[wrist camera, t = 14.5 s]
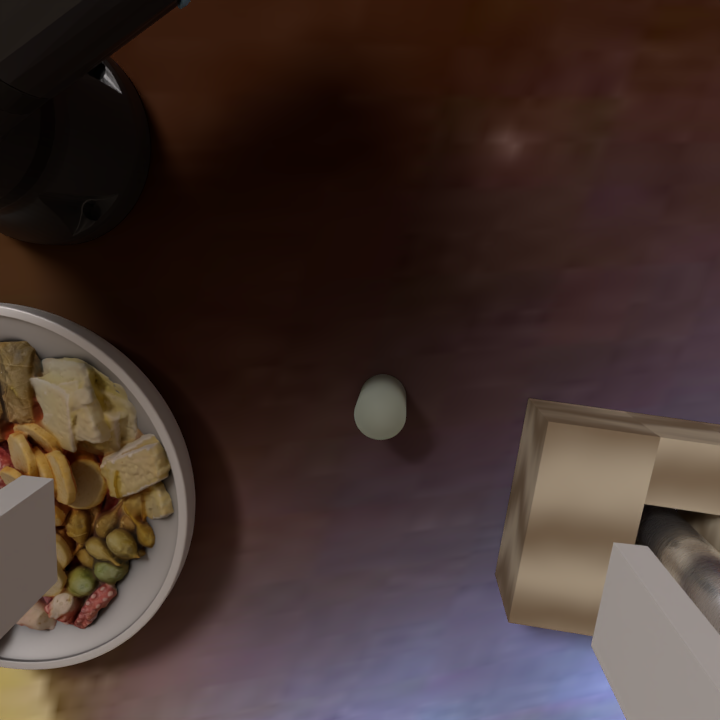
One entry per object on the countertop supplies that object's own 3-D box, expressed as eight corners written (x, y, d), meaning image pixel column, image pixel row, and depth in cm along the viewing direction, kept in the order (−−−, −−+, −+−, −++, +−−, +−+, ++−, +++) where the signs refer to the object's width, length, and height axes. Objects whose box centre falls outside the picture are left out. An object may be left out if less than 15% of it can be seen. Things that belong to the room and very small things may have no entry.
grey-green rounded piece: (363, 371, 43) (357, 386, 38) (409, 377, 42) (409, 393, 37) (357, 415, 43) (351, 435, 38) (402, 422, 43) (402, 443, 38)
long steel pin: (620, 484, 42) (745, 617, 27) (668, 490, 42) (822, 629, 27) (611, 526, 43) (727, 681, 28) (657, 533, 43) (801, 693, 27)
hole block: (528, 398, 42) (548, 421, 36) (799, 435, 41) (866, 466, 35) (495, 574, 45) (508, 622, 39) (747, 613, 44) (800, 669, 38)
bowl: (-92, 243, 44) (-198, 241, 36) (256, 376, 44) (224, 402, 36) (-151, 557, 50) (-251, 613, 42) (155, 676, 50) (109, 753, 42)
